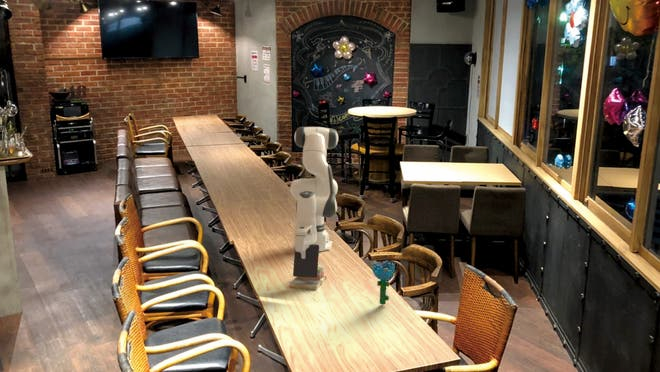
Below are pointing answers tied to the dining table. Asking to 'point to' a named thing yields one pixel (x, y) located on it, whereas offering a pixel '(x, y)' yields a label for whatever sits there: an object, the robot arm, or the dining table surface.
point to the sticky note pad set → (310, 280)
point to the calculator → (306, 262)
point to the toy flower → (383, 278)
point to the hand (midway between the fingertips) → (306, 256)
